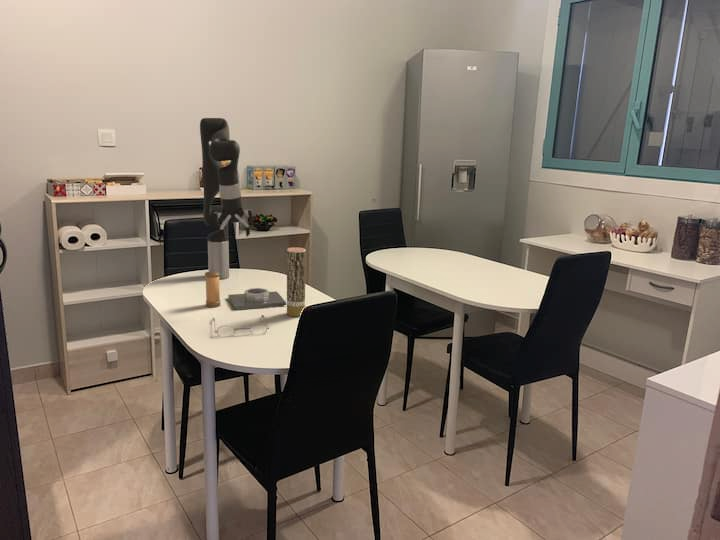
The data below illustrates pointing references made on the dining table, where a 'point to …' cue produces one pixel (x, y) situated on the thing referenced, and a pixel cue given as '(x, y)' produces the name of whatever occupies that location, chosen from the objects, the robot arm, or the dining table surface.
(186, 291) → the dining table surface
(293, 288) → the paper tube
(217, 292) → the capped orange cylinder
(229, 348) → the dining table surface
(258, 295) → the plate
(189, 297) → the dining table surface
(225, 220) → the robot arm
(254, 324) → the eyeglasses
